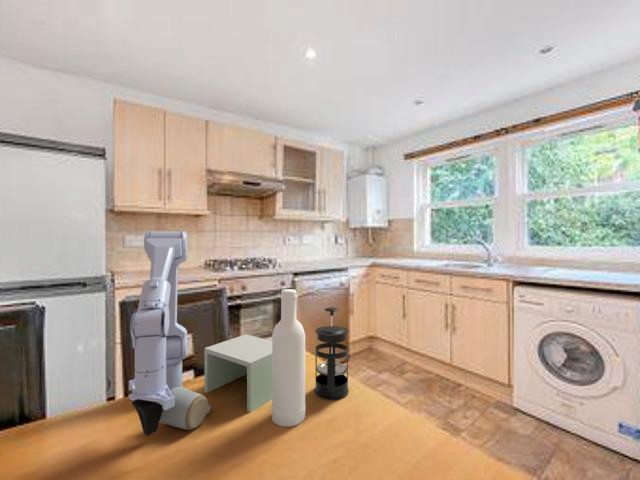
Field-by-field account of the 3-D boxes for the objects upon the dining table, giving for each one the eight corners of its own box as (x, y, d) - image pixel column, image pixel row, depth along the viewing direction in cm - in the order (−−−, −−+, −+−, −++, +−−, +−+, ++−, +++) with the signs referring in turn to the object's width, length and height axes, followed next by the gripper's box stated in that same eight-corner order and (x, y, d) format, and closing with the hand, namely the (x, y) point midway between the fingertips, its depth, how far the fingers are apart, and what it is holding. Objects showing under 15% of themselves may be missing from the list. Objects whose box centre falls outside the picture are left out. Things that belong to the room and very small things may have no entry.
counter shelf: (204, 391, 85) (204, 348, 85) (245, 372, 98) (245, 334, 98) (250, 412, 75) (250, 362, 75) (290, 387, 88) (290, 345, 88)
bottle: (268, 427, 69) (268, 293, 69) (274, 408, 77) (274, 287, 77) (304, 427, 69) (304, 293, 69) (306, 408, 77) (306, 287, 77)
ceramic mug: (187, 438, 65) (188, 402, 65) (157, 430, 68) (157, 395, 68) (219, 413, 75) (219, 381, 75) (191, 406, 78) (192, 376, 78)
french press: (316, 381, 91) (316, 303, 91) (348, 382, 91) (348, 304, 91) (312, 402, 80) (312, 313, 80) (349, 404, 79) (349, 314, 79)
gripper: (113, 365, 65) (113, 430, 65) (149, 383, 57) (149, 457, 57) (147, 355, 71) (147, 414, 71) (184, 370, 63) (184, 437, 63)
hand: (150, 432), depth 64 cm, fingers closed
